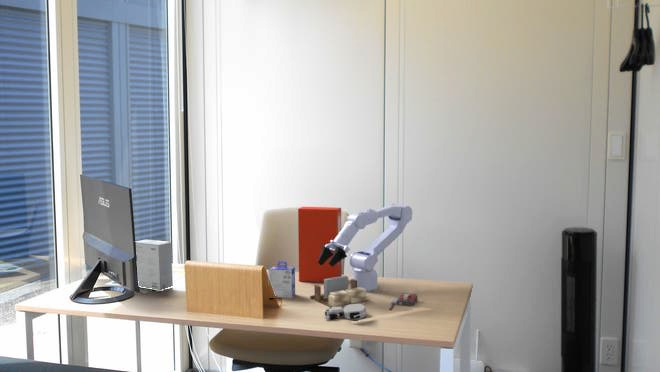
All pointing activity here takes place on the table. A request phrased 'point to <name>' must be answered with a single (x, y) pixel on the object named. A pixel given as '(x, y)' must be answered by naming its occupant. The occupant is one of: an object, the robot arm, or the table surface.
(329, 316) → the robot toy
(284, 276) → the ink cartridge box
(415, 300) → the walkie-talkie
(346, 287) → the grey rectangular slab
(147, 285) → the hard drive box
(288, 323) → the table surface
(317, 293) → the walnut rack
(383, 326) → the table surface
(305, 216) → the file binder
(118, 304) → the table surface
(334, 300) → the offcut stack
